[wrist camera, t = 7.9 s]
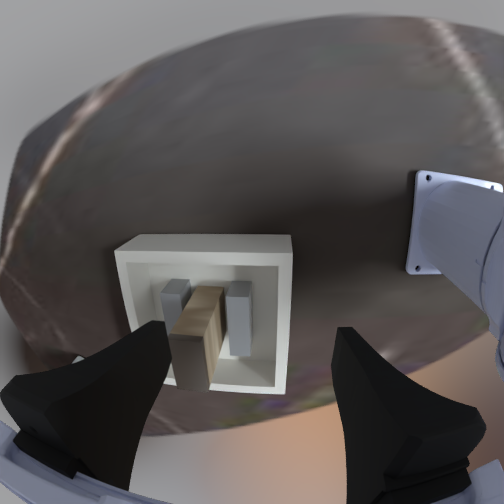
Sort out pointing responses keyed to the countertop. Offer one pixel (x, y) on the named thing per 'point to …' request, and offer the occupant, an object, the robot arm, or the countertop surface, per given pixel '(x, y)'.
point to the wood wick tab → (198, 339)
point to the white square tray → (235, 294)
